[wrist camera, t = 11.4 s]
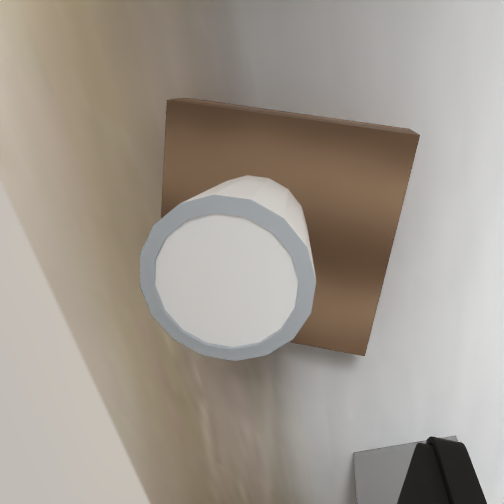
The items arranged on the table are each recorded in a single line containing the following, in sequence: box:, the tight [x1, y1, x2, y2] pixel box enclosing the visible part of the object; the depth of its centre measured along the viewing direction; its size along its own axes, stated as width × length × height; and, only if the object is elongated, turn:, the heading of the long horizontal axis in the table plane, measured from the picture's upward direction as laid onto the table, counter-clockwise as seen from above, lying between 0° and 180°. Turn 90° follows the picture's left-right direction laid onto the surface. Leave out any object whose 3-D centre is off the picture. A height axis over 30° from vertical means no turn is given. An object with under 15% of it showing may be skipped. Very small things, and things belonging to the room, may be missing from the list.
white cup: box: [140, 175, 316, 361], centre depth 20 cm, size 7×7×7 cm
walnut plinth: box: [161, 98, 420, 356], centre depth 25 cm, size 12×12×3 cm
